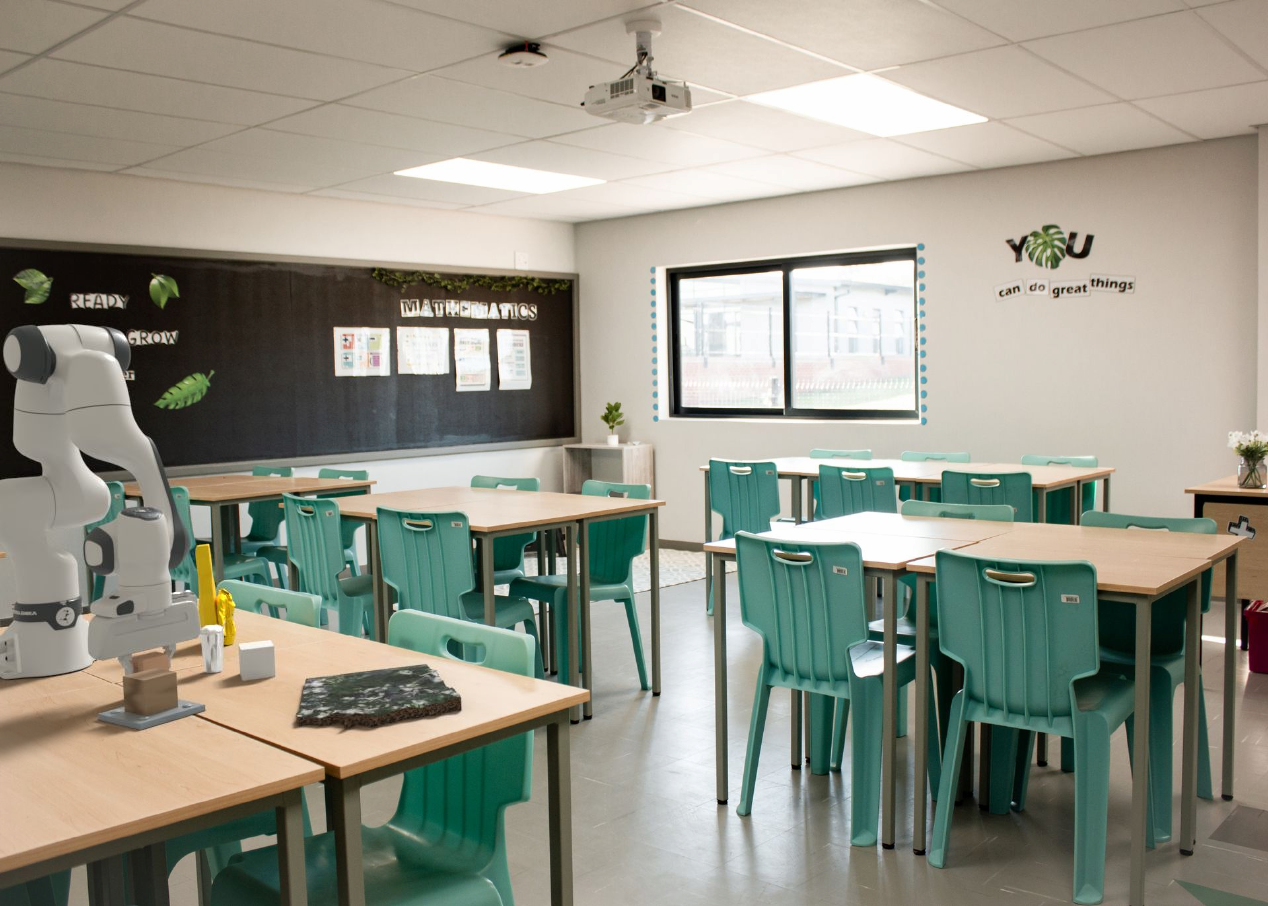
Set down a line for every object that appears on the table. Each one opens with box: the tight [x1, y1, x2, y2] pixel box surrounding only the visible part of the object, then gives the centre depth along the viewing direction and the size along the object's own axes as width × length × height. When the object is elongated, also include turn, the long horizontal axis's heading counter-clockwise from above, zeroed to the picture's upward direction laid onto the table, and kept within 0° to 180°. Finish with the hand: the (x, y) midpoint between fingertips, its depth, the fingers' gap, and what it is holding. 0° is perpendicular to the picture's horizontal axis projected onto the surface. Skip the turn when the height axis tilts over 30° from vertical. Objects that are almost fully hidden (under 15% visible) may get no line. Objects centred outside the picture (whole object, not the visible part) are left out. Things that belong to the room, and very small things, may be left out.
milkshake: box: [199, 621, 226, 674], centre depth 210 cm, size 4×5×10 cm
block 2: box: [122, 668, 179, 716], centre depth 181 cm, size 6×6×6 cm
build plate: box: [97, 698, 206, 731], centre depth 181 cm, size 12×12×1 cm
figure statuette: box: [195, 543, 237, 646], centre depth 234 cm, size 18×8×22 cm, turn 17°
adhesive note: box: [238, 639, 276, 682], centre depth 206 cm, size 6×6×6 cm
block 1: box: [129, 650, 170, 672], centre depth 193 cm, size 5×5×5 cm
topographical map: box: [295, 663, 463, 730], centre depth 187 cm, size 26×33×3 cm
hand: (148, 673), depth 193 cm, fingers closed on block 1, 5 cm apart
